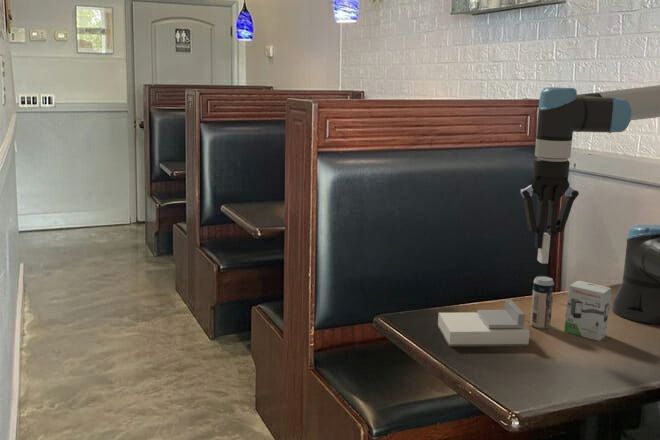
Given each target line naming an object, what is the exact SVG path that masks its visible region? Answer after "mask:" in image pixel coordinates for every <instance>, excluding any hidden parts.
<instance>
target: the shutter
mask: <svg viewBox="0 0 660 440" xmlns="http://www.w3.org/2000/svg"><path fill="white" fill-rule="evenodd" d="M504 301H505V303H504V309H477V313H478V315H479V316H480V317H481V319H482V320H483V321H484V323H485V324H486V325H487V327H488V328H524V325H525V316H526V314H525V313H524V312H523V310H521V309H520V307H519V306H518V305H517V304H516V303H515V302H514V301H513V300H512V299H505V300H504Z"/></svg>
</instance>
